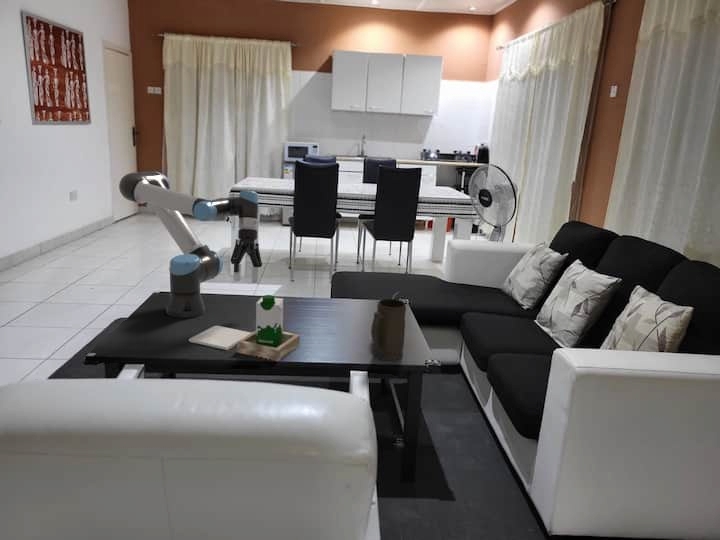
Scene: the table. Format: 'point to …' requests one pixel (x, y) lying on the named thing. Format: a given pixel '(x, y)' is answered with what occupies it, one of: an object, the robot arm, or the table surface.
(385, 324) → the beer stein
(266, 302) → the soya milk
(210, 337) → the tile
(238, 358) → the table surface
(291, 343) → the wooden square tray
